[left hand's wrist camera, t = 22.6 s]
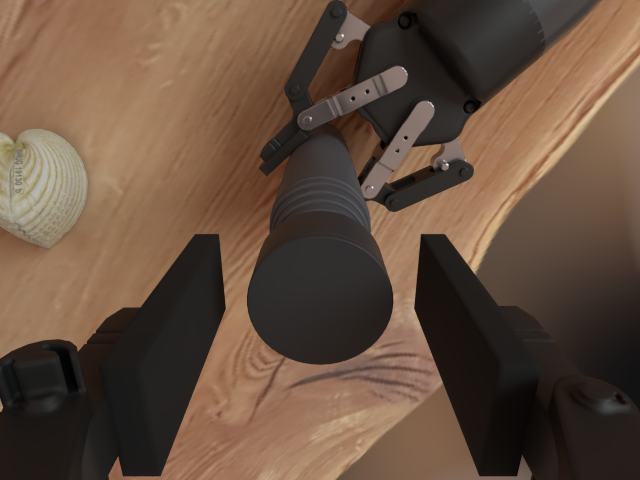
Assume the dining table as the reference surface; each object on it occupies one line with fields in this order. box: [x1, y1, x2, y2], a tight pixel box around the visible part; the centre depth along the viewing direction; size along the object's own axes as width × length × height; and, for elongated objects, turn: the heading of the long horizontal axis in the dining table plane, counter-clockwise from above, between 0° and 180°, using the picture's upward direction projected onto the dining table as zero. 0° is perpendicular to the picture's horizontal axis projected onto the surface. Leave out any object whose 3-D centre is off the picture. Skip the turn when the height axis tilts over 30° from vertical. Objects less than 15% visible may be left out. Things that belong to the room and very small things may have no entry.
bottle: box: [270, 124, 371, 233], centre depth 24 cm, size 4×4×24 cm
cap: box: [247, 211, 393, 365], centre depth 13 cm, size 4×4×2 cm
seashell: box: [0, 129, 88, 249], centre depth 33 cm, size 8×8×8 cm
